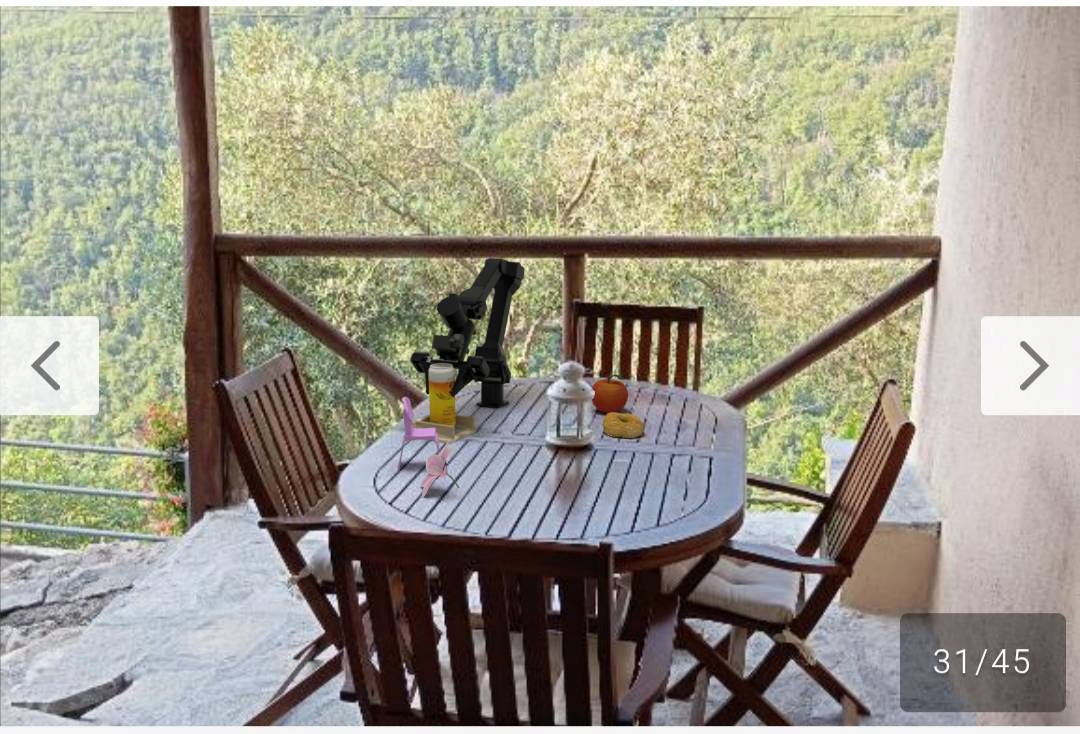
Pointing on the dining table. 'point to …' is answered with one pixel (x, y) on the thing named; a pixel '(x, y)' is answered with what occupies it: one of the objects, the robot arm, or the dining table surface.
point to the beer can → (442, 394)
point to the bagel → (622, 425)
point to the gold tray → (448, 428)
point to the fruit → (610, 395)
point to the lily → (437, 468)
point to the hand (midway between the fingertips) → (439, 394)
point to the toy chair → (413, 432)
